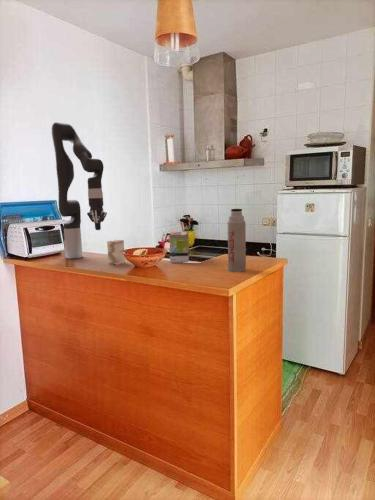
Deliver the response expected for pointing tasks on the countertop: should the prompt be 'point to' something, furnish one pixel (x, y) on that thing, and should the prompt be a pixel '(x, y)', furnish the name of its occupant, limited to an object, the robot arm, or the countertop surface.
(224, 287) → the countertop surface
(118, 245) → the birch block
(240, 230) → the thermos bottle
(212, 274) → the countertop surface
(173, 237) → the tea box
